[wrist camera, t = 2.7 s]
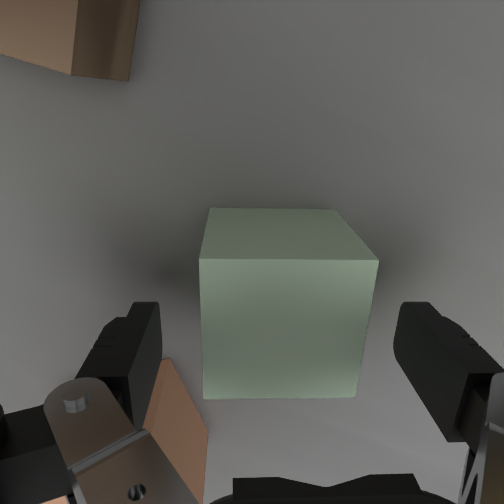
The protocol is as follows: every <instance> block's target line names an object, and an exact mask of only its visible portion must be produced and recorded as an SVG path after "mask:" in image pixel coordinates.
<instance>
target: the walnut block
mask: <svg viewBox="0 0 504 504" xmlns="http://www.w3.org/2000/svg"><path fill="white" fill-rule="evenodd" d="M140 1H141V0H0V54H3V55H6V56H10V57H13V58H16V59H20V60H23V61H26V62H29V63H33V64H36V65H39V66H42V67H46V68H49V69H52V70H56V71H59V72H62V73H65V74H69V75H74V76H83V77H93V78H102V79H111V80H120V81H128V79H129V73H130V66H131V60H132V53H133V47H134V40H135V34H136V27H137V21H138V14H139V8H140Z"/></svg>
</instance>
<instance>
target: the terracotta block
mask: <svg viewBox="0 0 504 504" xmlns="http://www.w3.org/2000/svg"><path fill="white" fill-rule="evenodd" d="M143 428H145V429H146V430H148V431H149V432H150V434H151V435H152V436H153V438H154V439H155V441H156V442H157V444H158V445H159V447H160V448H161V449H162V451H163V452H164V454H165V455H166V457H167V458H168V459H169V461H170V462H171V464H172V465H173V467H174V468H175V469H176V471H177V472H178V474H179V475H180V477H181V478H182V480H183V481H184V482H185V484H186V485H187V487H188V488H189V490H190V491H191V492H192V494H193V495H194V497H195V498H196V500H197V501H198V503H199V504H203V494H204V481H205V468H206V455H207V442H208V430H207V428H206V426H205V424H204V422H203V420H202V419H201V417H200V415H199V413H198V411H197V409H196V407H195V405H194V403H193V401H192V400H191V398H190V396H189V394H188V392H187V390H186V388H185V386H184V384H183V382H182V381H181V379H180V377H179V375H178V373H177V371H176V369H175V367H174V365H173V363H172V362H171V360H170V358H169V359H165V360H162V361H161V363H160V366H159V370H158V374H157V377H156V381H155V384H154V388H153V392H152V395H151V399H150V403H149V406H148V410H147V413H146V417H145V421H144V424H143ZM143 428H142V429H143ZM41 504H67V501H66V498H65V496H63V497H60V498H56V499H53V500H50V501H47V502H44V503H41Z"/></svg>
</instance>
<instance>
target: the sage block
mask: <svg viewBox="0 0 504 504" xmlns="http://www.w3.org/2000/svg"><path fill="white" fill-rule="evenodd" d="M378 264H379V259H378V258H377V257H376V256H375V255H374V253H373V252H372V251H371V250H370V249H369V248H368V246H367V245H366V244H365V243H364V242H363V241H362V239H361V238H360V237H359V236H358V235H357V234H356V232H355V231H354V230H353V229H352V228H351V226H350V225H349V224H348V223H347V222H346V221H345V219H344V218H343V217H342V216H341V215H340V214H339V212H338V211H337V210H336V209H280V208H210V210H209V215H208V219H207V224H206V229H205V233H204V238H203V242H202V247H201V251H200V256H199V279H200V310H201V340H202V371H203V399H286V398H355V396H356V391H357V385H358V379H359V373H360V368H361V362H362V356H363V350H364V345H365V339H366V333H367V328H368V322H369V316H370V310H371V305H372V299H373V293H374V287H375V282H376V276H377V270H378Z"/></svg>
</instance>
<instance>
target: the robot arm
mask: <svg viewBox="0 0 504 504" xmlns="http://www.w3.org/2000/svg"><path fill="white" fill-rule="evenodd" d="M393 349H394V354H395V358H396V360H397V362H398V363H399V365H400V367H401V368H402V370H403V371H404V373H405V375H406V376H407V378H408V379H409V381H410V383H411V384H412V386H413V387H414V389H415V391H416V392H417V394H418V395H419V397H420V399H421V400H422V402H423V403H424V405H425V407H426V408H427V410H428V411H429V413H430V415H431V416H432V418H433V419H434V421H435V423H436V424H437V426H438V427H439V429H440V431H441V432H442V434H443V435H444V437H445V439H446V440H447V442H466V443H467V444H468V446H469V449H468V452H467V455H466V459H465V465H464V470H463V476H462V481H461V487H460V492H459V498H458V503H457V504H504V369H503V368H502V367H501V366H500V365H499V364H498V363H497V362H496V361H495V360H494V359H493V358H492V357H491V356H490V355H489V354H488V353H487V352H486V351H485V350H484V349H483V348H482V347H481V346H479V345H478V343H477V342H476V341H475V340H474V339H473V338H470V335H469V334H468V333H467V332H466V331H465V330H464V329H463V328H462V327H461V326H460V325H458V324H457V323H455V322H453V321H452V320H450V319H448V318H446V317H443V316H442V315H441V314H440V313H439V312H438V311H437V310H436V309H435V308H434V307H433V306H432V305H431V304H430V303H429V302H403V303H402V305H401V307H400V311H399V316H398V321H397V326H396V332H395V337H394V342H393ZM161 357H162V334H161V321H160V309H159V303H158V302H134V303H133V304H132V306H131V308H130V310H129V312H128V314H127V316H126V317H116V318H115V319H113V320H112V321H111V322H110V323H108V324H107V325H106V326H104V328H103V330H102V332H101V333H100V335H99V337H98V340H96V342H95V344H94V346H93V349H91V351H90V353H89V354H88V356H87V358H86V360H85V362H84V363H83V365H82V367H81V369H80V370H79V372H78V374H77V376H76V377H75V379H74V380H71V381H68V382H66V383H64V384H62V385H60V386H58V387H57V388H56V389H54V390H53V391H52V392H51V393H50V394H49V395H48V396H47V398H46V400H45V402H44V404H43V405H40V406H37V407H33V408H29V409H25V410H21V411H17V412H13V413H9V414H5V415H4V411H3V408H2V406H1V405H0V504H41V503H44V502H47V501H50V500H53V499H56V498H60V497H63V496H65V498H66V501H67V504H199V503H198V501H197V500H196V498H195V497H194V495H193V494H192V492H191V491H190V490H189V488H188V487H187V485H186V484H185V482H184V481H183V480H182V478H181V477H180V475H179V474H178V472H177V471H176V469H175V468H174V467H173V465H172V464H171V462H170V461H169V459H168V458H167V457H166V455H165V454H164V452H163V451H162V449H161V448H160V447H159V445H158V444H157V442H156V441H155V439H154V438H153V436H152V435H151V434H150V432H149V431H148V430H146V429H145V428H143V424H144V421H145V417H146V413H147V410H148V406H149V403H150V399H151V395H152V392H153V388H154V384H155V381H156V377H157V374H158V370H159V366H160V363H161ZM142 428H143V429H142ZM210 504H455V503H453V502H452V501H450V500H448V499H445V498H443V497H441V496H438V495H436V494H433V493H429V492H426V491H423V490H421V489H420V487H419V485H418V483H417V481H416V479H415V477H414V475H413V474H375V475H367V476H364V477H360V478H357V479H354V480H351V481H347V482H344V483H341V484H338V485H334V486H331V487H321V486H317V485H312V484H307V483H303V482H298V481H294V480H289V479H285V478H280V477H261V478H233V494H231V495H228V496H225V497H222V498H220V499H218V500H215V501H213V502H212V503H210Z"/></svg>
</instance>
